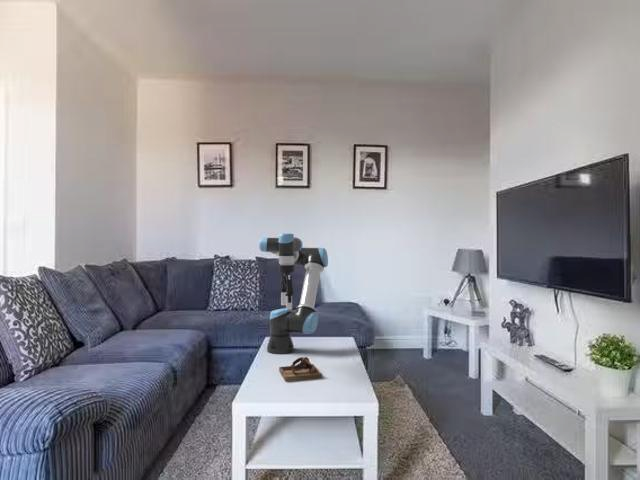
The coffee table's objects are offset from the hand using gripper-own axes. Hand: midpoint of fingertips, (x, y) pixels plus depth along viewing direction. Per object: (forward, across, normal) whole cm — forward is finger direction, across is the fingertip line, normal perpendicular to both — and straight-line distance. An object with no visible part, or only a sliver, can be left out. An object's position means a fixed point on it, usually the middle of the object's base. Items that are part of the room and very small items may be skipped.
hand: (286, 307), depth 207 cm
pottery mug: (+28, +16, +5) cm, 33 cm away
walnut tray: (+29, +16, +3) cm, 33 cm away
